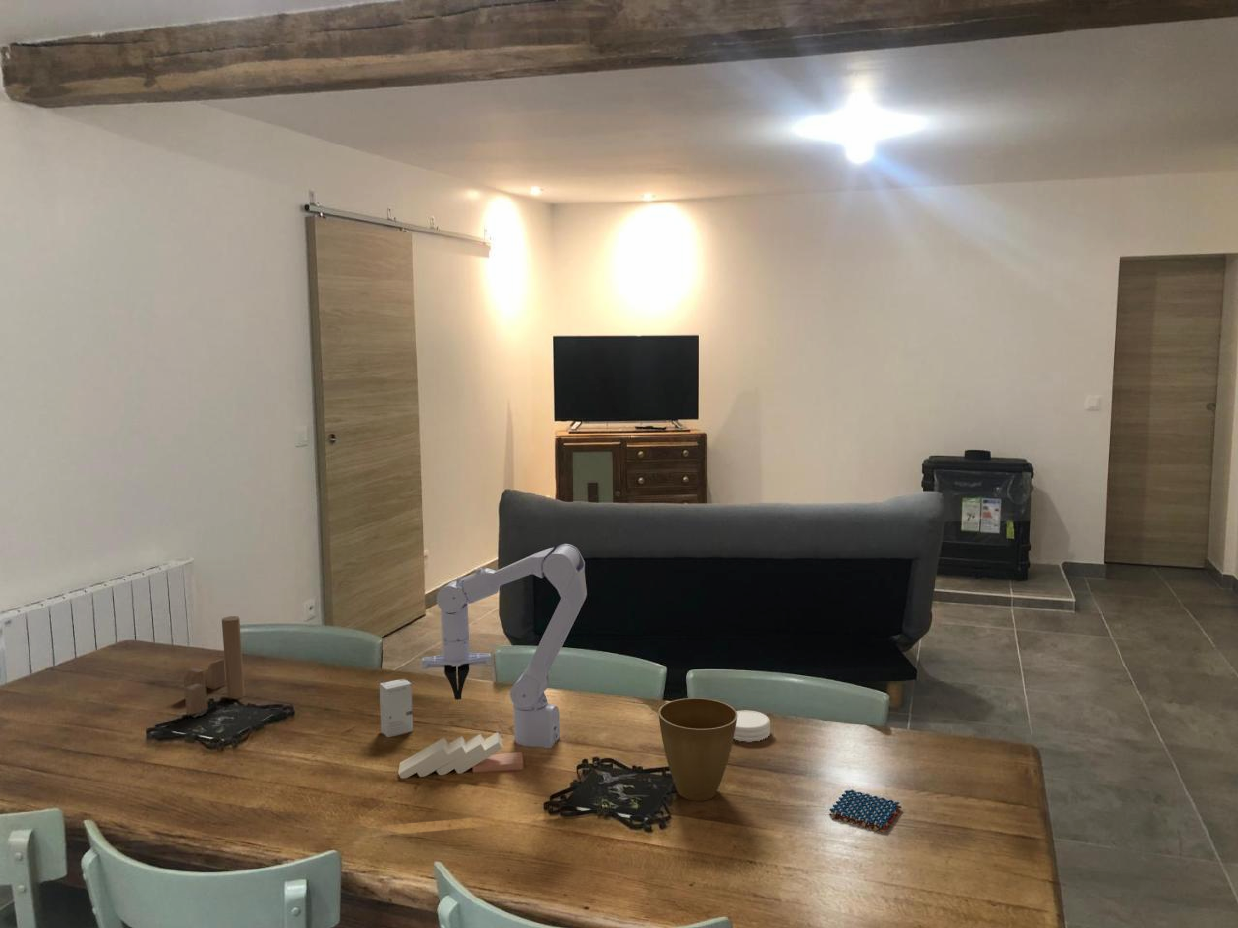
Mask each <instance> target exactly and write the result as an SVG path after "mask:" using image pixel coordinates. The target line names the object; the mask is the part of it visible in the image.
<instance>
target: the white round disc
mask: <svg viewBox="0 0 1238 928" xmlns="http://www.w3.org/2000/svg"><path fill="white" fill-rule="evenodd" d="M736 712H737V715H738V716H737V722H736V728H735V733H734V739H735V740H734V741H736V740H739V741H738V742H741V741H746V742H745V743H753V742H752V741H758V742H760V740H762V741H764V740H766V739H768V738H769V737H768V736H770V734H771V720H770V718H769V717H768V716H767V715H766V714H765V713H763V712H760V711H755V710H747V709H745V710H736ZM765 738H766V739H765ZM763 739H764V740H763Z"/></svg>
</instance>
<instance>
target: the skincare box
mask: <svg viewBox="0 0 1238 928" xmlns="http://www.w3.org/2000/svg"><path fill="white" fill-rule="evenodd" d="M412 686H413V685H412V683H411V682H410V680H409V681H408V680H407V679H406V678H401V679H395V680H390V681H389V680H388V681H387V682H386V681H385V682H381V683H379V702H380V703H379V705H380V708H379V709H380V727H381V728H380V729H381V734H383V735H384V736H385V737H387V738H390V737H391V738H392V737H395V736H399V735H403V734H407V733H410V732H413V731H414V720H413V719H414V718H413V716H414V715H413V688H412Z"/></svg>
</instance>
